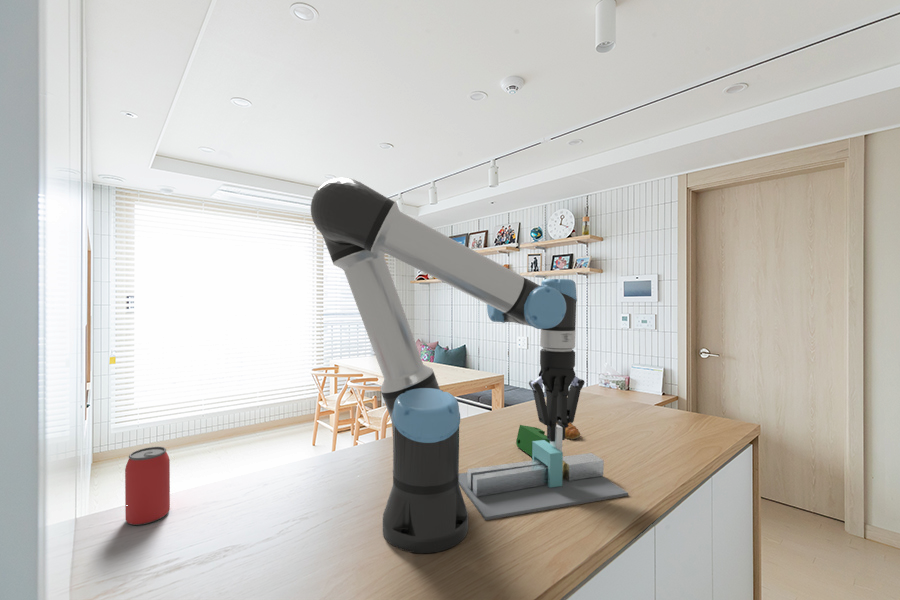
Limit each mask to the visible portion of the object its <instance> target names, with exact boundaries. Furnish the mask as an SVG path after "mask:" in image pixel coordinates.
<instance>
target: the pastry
mask: <svg viewBox="0 0 900 600" xmlns="http://www.w3.org/2000/svg"><path fill="white" fill-rule="evenodd" d="M568 425H569V426H568V427H567V428H565V439H566V440H568V439H569V440H575V439H579V437H580V436H581V432H580V431H579V429H578V428H577V427H576V426H575V425H573V423H568Z"/></svg>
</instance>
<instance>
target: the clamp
mask: <svg viewBox="0 0 900 600" xmlns="http://www.w3.org/2000/svg"><path fill="white" fill-rule="evenodd" d="M545 433H546V431H545V430H543V429H541V428H539V427H535V426H529V425H524V424H523V425H522V424H519V427H518V432H517V436H516V442H515V444H516V447H517V448H518V449H520V450H522V451H523V452H525V453H526V454H527V455H529V456H530V457H532V441H539V440H545V441H546V442H548V443H549V444H550V441H549V440H548V439H547V434H545Z"/></svg>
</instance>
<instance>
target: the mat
mask: <svg viewBox="0 0 900 600" xmlns="http://www.w3.org/2000/svg"><path fill="white" fill-rule="evenodd" d="M467 474H468V471H467V472H460V473H459V487H460V489H462V491H463V492H464V494H465V495H466V496H467V498H468V499H469V500H470V501H471V503H472V504H473V506H474V507H475V509H476V510H477V511H478V512H479V514H480V515H481V517H482V518H483V520H484V521H488V520H489V521H490V520H493V519H494V520H495V518H496V519H501V518H506V516H507V517H513V516H517V515H524V514H530V513H534V512H540V511H547V510H552V509H558V508H563V507H570V506H576V505H581V504H587V503H593V502H599V501H604V500H610V499H617V498H621V497H628V496H629V492H628V491H627V490H625V489H624V488H622V487H620V486H619V485H617V484H615V483H614V482H612V481H611V480H610V479H608V478H606V477H605V476H604V475H603V476H598V477H591V478H585V479H578V480H571V481H568V480H567V479H566V478H565V479H564V480H562V486H558V487H552V488H550V487H548V485H542V486H536V487H530V488H525V489H519V490H513V491H508V492H502V493H496V494H490V495H485V496H479V497H476V495H475V494H474V493H473V489H472V490H471V489H470V488H469V487H468V485H467Z"/></svg>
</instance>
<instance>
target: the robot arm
mask: <svg viewBox="0 0 900 600" xmlns="http://www.w3.org/2000/svg"><path fill="white" fill-rule="evenodd" d="M310 215H311V219H312V222H313V224H314V225H315V227H316V229H317V231H319V233H321V235H322V238H323V241H324V243H325V245H326V248H327V251H328V254H329V256H330V258H331V261H332V264H333V265H334V266H336V267H338V268H339V269H342V271H343V272H344V274H345V277H346V280H347V283H348V285H349V288H350V290H351V293H352V296H353V299H354V301H355V304H356V307H357V309H358V312H359V315H360V318H361V321H362V323H363V326H364V329H365V331H366V333H367V337H368V339H369V342H370V345H371V348H372V351H373V353H374V356H375V358H376V360H377V364H378V366H379V369H380V371H381V374H382V378H383V382H382V385H381V386H380V394H381V396H382V399H383V401H384V404H385V406H386V409H387V412H388V415H389V418H390V421H391V430H392V445H393V446H392V487H391V490H390V492H389V495H388V499H387V502H386V505H385V508H384V511H383V514H382V534H383V537H384V538H385V540H386V542H388V543H389V544H390V545H391V546H393V547H396V548H398V549H399V550H402V551H405V552H409V553H416V554H432V553H438V552H442V551H446V550H448V549H451V548H453V547H455V546H456V545H459V543H460V542H462V541H463V540H464V539H465V537H467V535H468V531H469V514H468V512H469V511H468V509H467V506H466V503H465V501H464V496H463V494H462V493H463V492H462V490H461V486H460V485H459V471H460V469H459V468H460V466H459V465H460V423H461V412H460V405H459V401H458V400H457V398H456V397H455V396H454V395H453V394H451V393H450V392H447V391H443V390H442V389H440V386H439V383H438V379H437V378H436V375H435V372H434V369H433V368H432V367H430V366H428V365H426V364H424V363H423V359H422V358H421V354H420V352H419V349H418V345H417V344H416V341H415V338H414V336H413V335H414V334H413V332H412V329H411V326H410V325H409V322H408V319H407V316H406V313H405V310H404V307H403V305H402V302H401V299H400V297H399V293H398V290H397V289H396V285H395V283H394V280H393V278H392V277H393V276H392V274H391V271H390V269H389V265H388V264H387V261H386V258H385V255H386V254H387V255H389V256H391V257H393V258H395V259H397V260H399V261H401V262H402V263H405V264H407V265H409V266H411V267H412V268H414V269H417V270H419V271H421V272H423V273H424V274H427V275H429V276H431V277H433V278H435V279H437V280H439V281H441V282H442V283H444V284H447V285H449V286H450V287H453V288H454V289H456V290H458V291H461V292H463V293H464V294H466V295H469V296H471V297H472V298H475V299H477V300H479V301H480V302H482V303H484V304H486V310H487V316H488V318H489V319H490V321H491V322H494V323H495V322H496V323H503V324H505V323H515V324H519V325H524V326H528V327H532V328H535V329H537V330H540V335H539V337H540V340H539V345H540V347H541V350H540V351H539V366H540V371H539V373H538V377H537V378H536V379H534V380H530V381H529V382H528V385H529V387H530V388H531V390H532V393H533V399H534V401H535V407H536V412H537V417H538V421H539V422H540V423H541V424H543V425H544V426H546V427H547V428H546V436H547V439H548V440H549V441H550V444H551V445H552V446H554V447H556V448H557V449H559V450H560V451H562V452H563V441H565V439H566V438H565V428H567V427H568V426H569V425H568V423H572V424H573V423H574V421H575V417H576V413H577V412H576V411H577V408H578V403H579V399H580V395H581V391H582V389H583V388H584V385H585V383H586V382H585V380H584V379H581V378H579V377H578V376H577V375H576V371H575V369H574V368H575V366H576V351H575V350H574V349H575V348H576V331H577V330H576V324H577V321H576V320H577V301H578V298H577V285H576V282H575V280H573V279H568V278H547V279H546V278H544V279H543V280H542V281H541V285H540V284H538V283H536V282H534V281H532V280H530V279H528V278H526V277H524V276H522V275H521V274H519V273H517V272H515V271H513V270H511V269H510V268H508V267H506V266H504V265H502V264H500V263H499V262H496V261H495V260H492V259H491V258H488V257H487V256H485V255H483V254H481V253H479V252H477V251H475V250H473V249H472V248H469V247H468V246H466V245H464V244H463V243H460V242H458V241H456V240H455V239H453V238H451V237H449V236H447V235H445V234H443V233H442V232H439V230H438V231H437V230H436V229H434V228H432V227H430V226H429V225H427V224H424V223H423V222H421V221H419V220H417V219H416V218H413V217H411V216H410V215H408V214H406V213H404V212H402V211H401V210H400V207H399V205H398V203H397V202H396V201H394V200H393V199H391V198H388V197H386V196H385V195H383V194H381V193H380V192H378V191H376V190H374V188H371V187H369V186H367V185H366V184H364V183H362V182H361V181H358V180H357V179H356V180H355V179H354V178H353V179H352V178H348V177H336V178H332V179H329V180H328V181H325V182H323V184H321V185H320V186H319V187H318V188H317V189H316V191H315V193H314V194H313V196H312V199H311V202H310ZM543 388H545V389H544V390H543ZM544 391H545V393H544ZM545 396H546V397H545Z"/></svg>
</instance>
